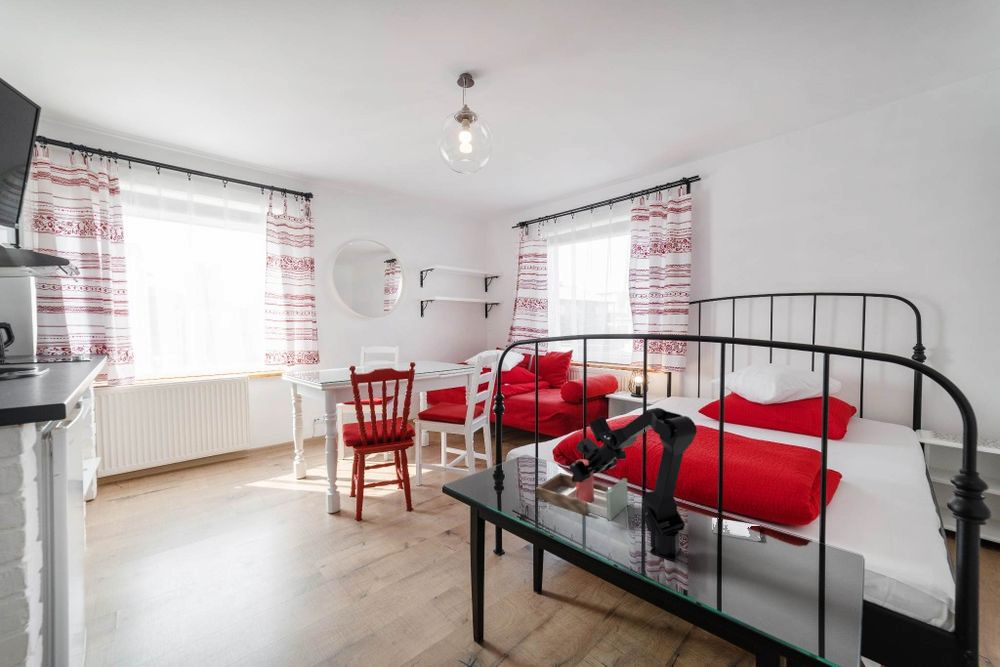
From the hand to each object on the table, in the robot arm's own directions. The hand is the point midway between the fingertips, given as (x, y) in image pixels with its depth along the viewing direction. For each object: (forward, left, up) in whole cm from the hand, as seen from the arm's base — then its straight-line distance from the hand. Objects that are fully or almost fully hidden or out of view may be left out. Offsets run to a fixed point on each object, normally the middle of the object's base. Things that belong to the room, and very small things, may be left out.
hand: (581, 476), depth 144 cm
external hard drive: (-46, -10, -9) cm, 48 cm away
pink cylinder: (-1, 0, -8) cm, 8 cm away
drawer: (+4, 0, -9) cm, 9 cm away
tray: (-4, 0, -9) cm, 10 cm away
